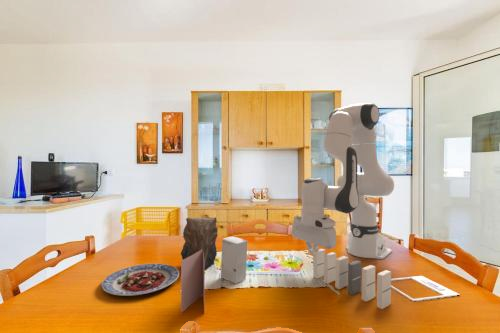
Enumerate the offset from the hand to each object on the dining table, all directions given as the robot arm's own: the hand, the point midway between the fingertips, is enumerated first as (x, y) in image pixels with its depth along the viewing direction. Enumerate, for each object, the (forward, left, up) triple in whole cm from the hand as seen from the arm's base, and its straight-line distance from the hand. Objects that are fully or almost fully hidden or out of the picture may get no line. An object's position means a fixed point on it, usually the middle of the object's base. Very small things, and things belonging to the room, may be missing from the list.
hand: (312, 253), depth 103 cm
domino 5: (0, +23, -8) cm, 25 cm away
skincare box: (+28, -14, -8) cm, 32 cm away
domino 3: (0, +13, -8) cm, 15 cm away
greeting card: (+46, -4, -8) cm, 47 cm away
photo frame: (-21, +29, -8) cm, 37 cm away
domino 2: (0, +8, -8) cm, 11 cm away
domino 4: (0, +18, -8) cm, 20 cm away
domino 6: (0, +28, -8) cm, 29 cm away
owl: (+34, -32, -8) cm, 47 cm away
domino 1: (0, +3, -8) cm, 8 cm away
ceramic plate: (+57, -30, -8) cm, 65 cm away
